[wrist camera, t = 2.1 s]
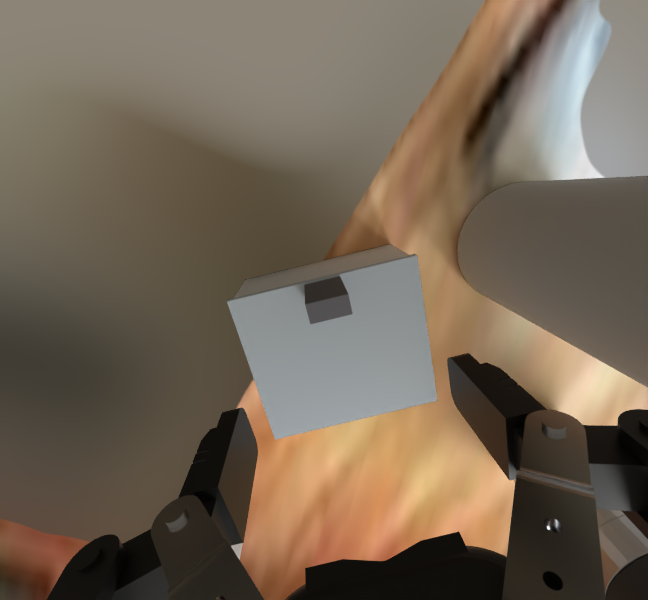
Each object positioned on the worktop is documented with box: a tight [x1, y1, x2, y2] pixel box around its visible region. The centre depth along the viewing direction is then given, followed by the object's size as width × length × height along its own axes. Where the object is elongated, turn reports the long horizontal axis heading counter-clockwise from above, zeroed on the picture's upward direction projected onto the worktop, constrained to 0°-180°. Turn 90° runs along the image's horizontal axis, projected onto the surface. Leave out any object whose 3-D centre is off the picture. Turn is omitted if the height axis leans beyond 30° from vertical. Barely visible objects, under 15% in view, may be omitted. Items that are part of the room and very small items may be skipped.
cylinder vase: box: [457, 176, 648, 387], centre depth 24 cm, size 12×12×25 cm
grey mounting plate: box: [227, 254, 438, 439], centre depth 27 cm, size 16×14×6 cm
